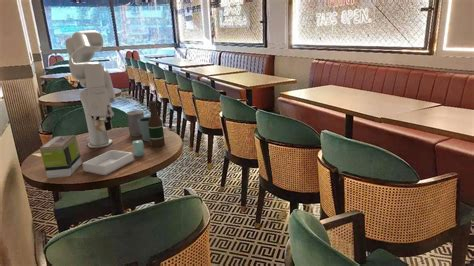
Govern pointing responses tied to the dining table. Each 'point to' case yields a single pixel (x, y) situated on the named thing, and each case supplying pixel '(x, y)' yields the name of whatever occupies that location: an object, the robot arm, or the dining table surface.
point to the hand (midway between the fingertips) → (104, 129)
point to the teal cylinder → (138, 148)
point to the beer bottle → (155, 127)
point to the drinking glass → (144, 128)
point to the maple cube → (100, 125)
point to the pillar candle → (134, 122)
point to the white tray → (108, 162)
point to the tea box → (61, 156)
